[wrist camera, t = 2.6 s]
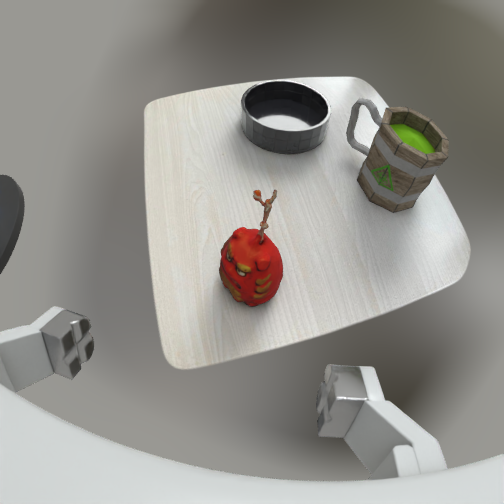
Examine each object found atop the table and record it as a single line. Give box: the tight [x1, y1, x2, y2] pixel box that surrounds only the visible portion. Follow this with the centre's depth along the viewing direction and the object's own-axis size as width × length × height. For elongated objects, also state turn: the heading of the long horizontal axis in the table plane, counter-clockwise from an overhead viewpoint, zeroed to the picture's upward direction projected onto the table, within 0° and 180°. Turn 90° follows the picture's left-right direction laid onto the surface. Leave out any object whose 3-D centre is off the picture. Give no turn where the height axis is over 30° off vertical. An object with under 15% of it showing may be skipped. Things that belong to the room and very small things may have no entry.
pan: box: [241, 80, 331, 154], centre depth 47 cm, size 15×15×5 cm
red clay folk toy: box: [219, 190, 283, 307], centre depth 30 cm, size 8×7×15 cm
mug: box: [346, 98, 448, 213], centre depth 40 cm, size 16×11×12 cm
